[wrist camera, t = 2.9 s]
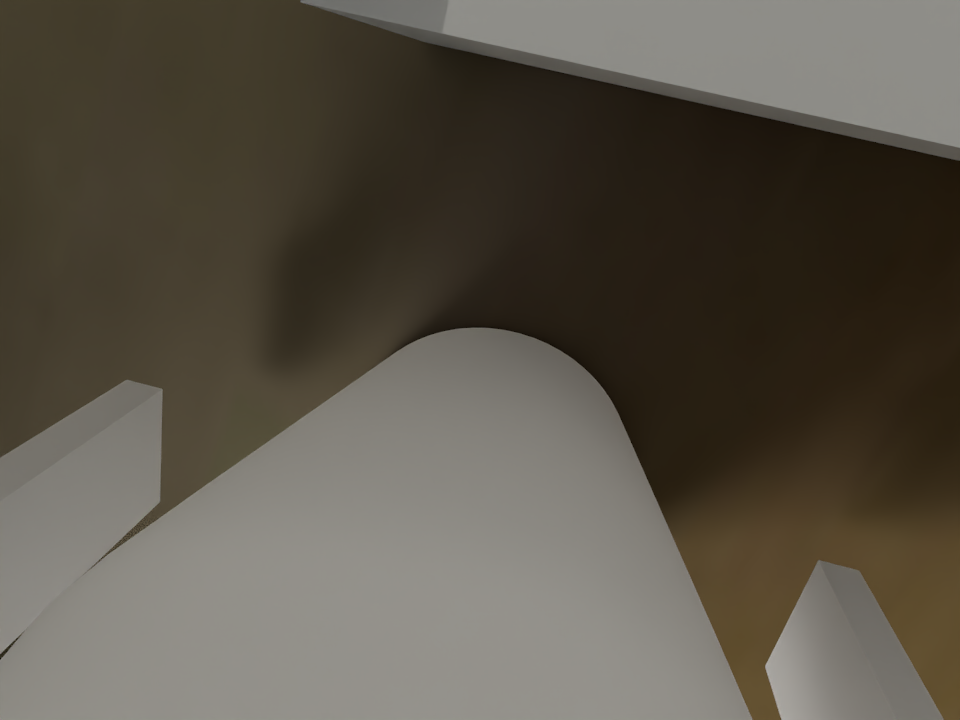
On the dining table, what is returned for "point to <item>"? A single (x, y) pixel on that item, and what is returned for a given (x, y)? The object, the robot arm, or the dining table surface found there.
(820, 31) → the bin
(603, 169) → the dining table surface
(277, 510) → the cup
